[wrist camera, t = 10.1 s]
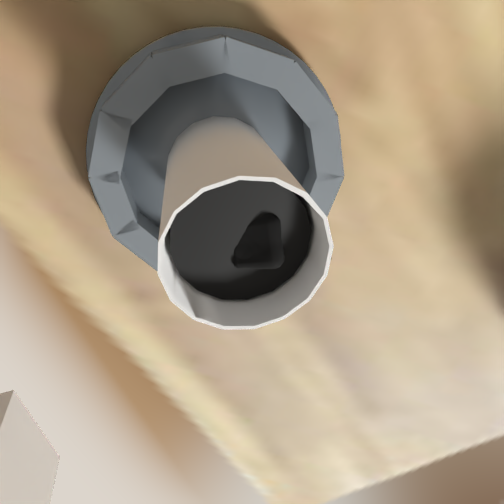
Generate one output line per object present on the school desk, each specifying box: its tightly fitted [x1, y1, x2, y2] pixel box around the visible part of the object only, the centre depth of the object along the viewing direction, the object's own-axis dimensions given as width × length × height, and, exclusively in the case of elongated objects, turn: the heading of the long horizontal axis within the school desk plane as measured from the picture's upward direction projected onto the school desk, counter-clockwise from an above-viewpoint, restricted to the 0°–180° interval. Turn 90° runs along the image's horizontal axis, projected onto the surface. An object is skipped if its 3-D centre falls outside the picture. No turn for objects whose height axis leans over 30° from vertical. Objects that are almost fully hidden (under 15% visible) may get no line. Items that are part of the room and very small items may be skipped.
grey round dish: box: [86, 26, 344, 271], centre depth 26 cm, size 14×14×2 cm
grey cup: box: [158, 116, 334, 329], centre depth 22 cm, size 7×7×10 cm
